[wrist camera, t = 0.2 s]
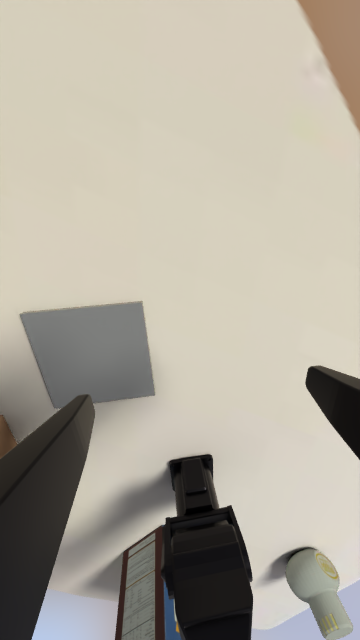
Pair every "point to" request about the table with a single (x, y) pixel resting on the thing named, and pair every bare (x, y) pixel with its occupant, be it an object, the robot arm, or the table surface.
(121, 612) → the protein box
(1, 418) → the walnut cube
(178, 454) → the table surface
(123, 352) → the slate pad
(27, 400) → the table surface
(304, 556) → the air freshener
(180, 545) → the robot arm
